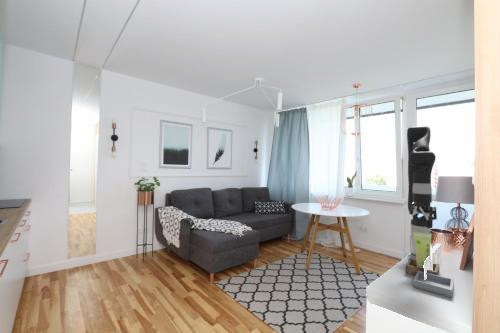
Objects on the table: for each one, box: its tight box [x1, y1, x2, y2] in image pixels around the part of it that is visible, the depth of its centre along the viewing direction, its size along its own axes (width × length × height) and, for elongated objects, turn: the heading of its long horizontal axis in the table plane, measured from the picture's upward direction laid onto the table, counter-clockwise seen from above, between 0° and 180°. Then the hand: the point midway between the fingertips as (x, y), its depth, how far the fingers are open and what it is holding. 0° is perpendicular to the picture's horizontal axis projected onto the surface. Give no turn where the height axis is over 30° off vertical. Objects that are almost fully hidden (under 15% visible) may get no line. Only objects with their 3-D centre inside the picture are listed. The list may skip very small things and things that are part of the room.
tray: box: [413, 271, 455, 299], centre depth 102 cm, size 13×13×3 cm
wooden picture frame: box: [405, 257, 440, 277], centre depth 115 cm, size 12×12×4 cm
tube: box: [413, 232, 433, 268], centre depth 115 cm, size 6×5×20 cm
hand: (422, 225), depth 115 cm, fingers open, 8 cm apart
